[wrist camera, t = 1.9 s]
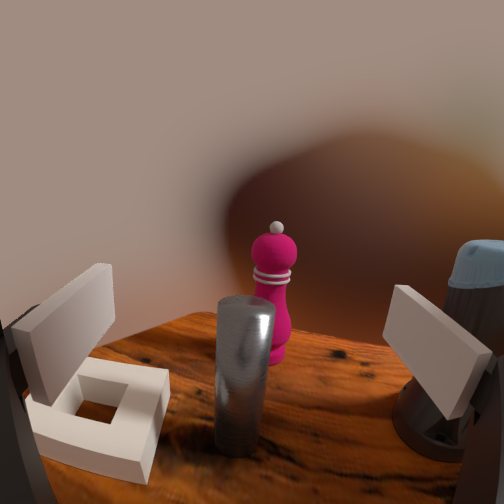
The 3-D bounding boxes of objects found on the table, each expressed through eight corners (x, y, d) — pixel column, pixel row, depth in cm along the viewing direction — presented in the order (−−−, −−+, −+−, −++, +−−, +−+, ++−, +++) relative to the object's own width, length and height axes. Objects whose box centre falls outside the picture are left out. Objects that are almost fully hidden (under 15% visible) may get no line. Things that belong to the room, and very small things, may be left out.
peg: (256, 428, 31) (273, 296, 27) (258, 458, 26) (278, 320, 22) (215, 426, 30) (219, 293, 26) (212, 456, 26) (215, 317, 22)
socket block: (170, 394, 35) (168, 369, 34) (146, 485, 21) (139, 461, 20) (70, 376, 34) (64, 351, 33) (22, 447, 20) (8, 421, 19)
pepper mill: (230, 348, 47) (238, 217, 42) (268, 338, 51) (281, 216, 46) (256, 373, 41) (271, 227, 36) (296, 359, 45) (316, 226, 40)
